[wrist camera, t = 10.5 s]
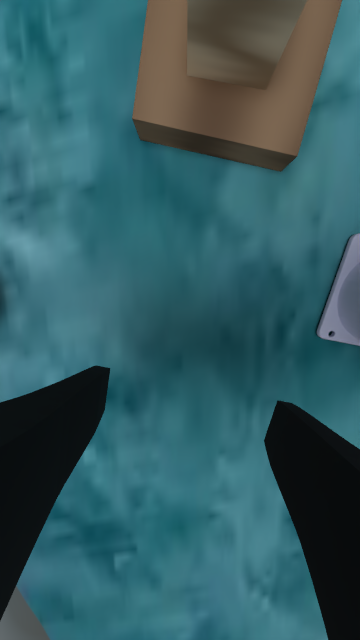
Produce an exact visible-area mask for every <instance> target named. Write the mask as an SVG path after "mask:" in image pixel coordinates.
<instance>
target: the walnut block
mask: <svg viewBox="0 0 360 640" xmlns="http://www.w3.org/2000/svg"><path fill="white" fill-rule="evenodd" d="M341 2H342V0H307V1H306V4H305V6H304V8H303V10H302V12H301V14H300V17H299V19H298V21H297V23H296V25H295V27H294V30H293V32H292V34H291V36H290V38H289V40H288V43H287V45H286V47H285V49H284V51H283V53H282V55H281V58H280V60H279V62H278V64H277V66H276V68H275V71H274V73H273V75H272V77H271V79H270V81H269V84H268V86H267V88H266V90H262V89H257V88H251V87H246V86H241V85H235V84H230V83H225V82H219V81H214V80H209V79H203V78H198V77H193V76H187V0H148V5H147V13H146V20H145V28H144V35H143V43H142V50H141V58H140V65H139V72H138V80H137V87H136V95H135V102H134V110H133V117H132V119H133V122H134V124H135V127H136V130H137V132H138V135H139V138H140V140H143V141H148V142H152V143H157V144H161V145H165V146H170V147H174V148H179V149H183V150H188V151H192V152H197V153H201V154H205V155H210V156H214V157H219V158H223V159H228V160H232V161H236V162H241V163H245V164H250V165H254V166H259V167H263V168H268V169H272V170H276V171H282V170H283V169H284V168H285V167H286V166H287V165H288V164H289V163H291V162H292V161H293V160H294V159H295V158H296V157H297V155H298V152H299V148H300V145H301V141H302V138H303V134H304V131H305V127H306V124H307V121H308V117H309V114H310V110H311V107H312V103H313V100H314V96H315V93H316V89H317V86H318V82H319V79H320V75H321V72H322V68H323V65H324V61H325V58H326V54H327V51H328V47H329V44H330V40H331V37H332V34H333V30H334V27H335V23H336V20H337V16H338V13H339V9H340V6H341Z"/></svg>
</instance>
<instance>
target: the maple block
mask: <svg viewBox="0 0 360 640" xmlns="http://www.w3.org/2000/svg"><path fill="white" fill-rule="evenodd" d="M306 1H307V0H187V76H193V77H198V78H203V79H209V80H214V81H219V82H225V83H230V84H235V85H241V86H246V87H251V88H257V89H262V90H266V88H267V86H268V84H269V81H270V79H271V77H272V75H273V73H274V71H275V68H276V66H277V64H278V62H279V60H280V58H281V55H282V53H283V51H284V49H285V47H286V45H287V43H288V40H289V38H290V36H291V34H292V32H293V30H294V27H295V25H296V23H297V21H298V19H299V17H300V14H301V12H302V10H303V8H304V6H305V4H306Z"/></svg>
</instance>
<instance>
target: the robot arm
mask: <svg viewBox="0 0 360 640" xmlns="http://www.w3.org/2000/svg"><path fill="white" fill-rule="evenodd" d="M330 331H332V334H331V335H330V336H328V333H329V332H330ZM317 335H318V336H319V337H321V338H323V339H328V340H333V341H338V342H343V343H348V344H353V345H358V346H360V234H355V235H352V236H351V237H350V239H349V241H348V244H347V247H346V250H345V253H344V256H343V258H342V261H341V264H340V267H339V270H338V272H337V275H336V278H335V281H334V284H333V287H332V289H331V292H330V295H329V298H328V301H327V304H326V306H325V309H324V312H323V315H322V318H321V320H320V323H319V326H318V329H317ZM109 374H110V368H106V367H101V366H93V367H91V368H88V369H86V370H84V371H82V372H79V373H77V374H75V375H73V376H71V377H68V378H66V379H64V380H62V381H59V382H57V383H55V384H52V385H49V386H47V387H44V388H42V389H39V390H37V391H34V392H32V393H29V394H26V395H23V396H20V397H17V398H14V399H11V400H7V401H4V402H1V403H0V620H1V618H2V616H3V613H4V611H5V609H6V607H7V605H8V602H9V600H10V598H11V595H12V593H13V591H14V589H15V587H16V585H17V582H18V580H19V578H20V576H21V573H22V571H23V569H24V567H25V565H26V563H27V560H28V558H29V556H30V554H31V552H32V550H33V547H34V545H35V543H36V541H37V539H38V537H39V534H40V532H41V530H42V528H43V526H44V524H45V522H46V520H47V518H48V516H49V514H50V511H51V509H52V507H53V505H54V503H55V501H56V499H57V497H58V495H59V494H60V492H61V490H62V488H63V486H64V484H65V483H66V481H67V479H68V478H69V476H70V474H71V473H72V471H73V469H74V467H75V466H76V464H77V462H78V461H79V459H80V457H81V456H82V454H83V452H84V451H85V449H86V447H87V445H88V444H89V442H90V440H91V439H92V437H93V435H94V433H95V431H96V429H97V427H98V425H99V422H100V420H101V418H102V415H103V413H104V410H105V403H106V396H107V388H108V381H109ZM264 442H265V447H266V451H267V455H268V459H269V462H270V466H271V468H272V471H273V474H274V476H275V479H276V481H277V484H278V486H279V489H280V491H281V494H282V496H283V499H284V501H285V504H286V506H287V509H288V511H289V514H290V516H291V519H292V521H293V524H294V526H295V529H296V531H297V534H298V537H299V540H300V543H301V546H302V549H303V552H304V555H305V559H306V562H307V565H308V568H309V572H310V575H311V578H312V582H313V585H314V589H315V592H316V596H317V599H318V603H319V606H320V610H321V614H322V617H323V621H324V624H325V628H326V632H327V636H328V640H360V449H358V448H357V447H355V446H354V445H352V444H351V443H349V442H348V441H347V440H345V439H344V438H342V437H341V436H339V435H338V434H337V433H335V432H334V431H332V430H331V429H329V428H328V427H327V426H325V425H324V424H322V423H321V422H320V421H318V420H317V419H315V418H314V417H313V416H311V415H310V414H308V413H307V412H305V411H304V410H302V409H301V408H299V407H298V406H296V405H294V404H292V403H288V402H283V401H277V404H276V407H275V410H274V413H273V416H272V419H271V421H270V424H269V427H268V430H267V433H266V436H265V439H264Z"/></svg>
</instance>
